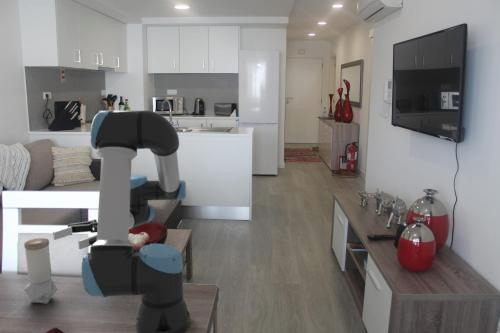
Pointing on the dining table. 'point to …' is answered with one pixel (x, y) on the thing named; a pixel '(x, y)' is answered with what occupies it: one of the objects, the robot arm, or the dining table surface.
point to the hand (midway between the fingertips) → (66, 240)
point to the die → (41, 291)
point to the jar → (38, 260)
